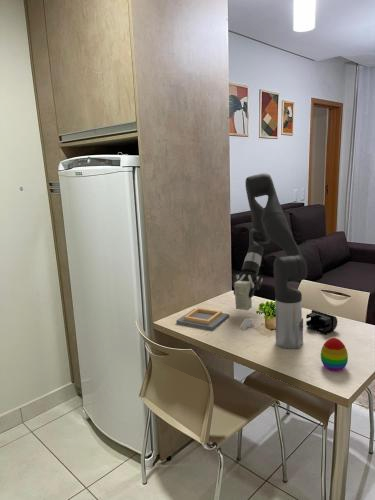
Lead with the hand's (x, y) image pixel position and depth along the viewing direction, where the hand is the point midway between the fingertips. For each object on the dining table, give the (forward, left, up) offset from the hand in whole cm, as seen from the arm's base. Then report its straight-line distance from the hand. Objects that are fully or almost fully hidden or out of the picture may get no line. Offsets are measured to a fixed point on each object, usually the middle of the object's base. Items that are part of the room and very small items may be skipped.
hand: (242, 296), depth 167 cm
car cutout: (-4, +14, -10) cm, 18 cm away
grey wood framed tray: (+14, +11, -10) cm, 20 cm away
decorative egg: (-44, +29, -10) cm, 54 cm away
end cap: (-34, 0, -10) cm, 35 cm away
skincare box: (0, -1, -6) cm, 6 cm away
